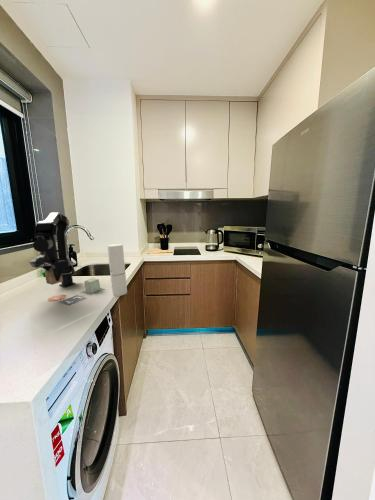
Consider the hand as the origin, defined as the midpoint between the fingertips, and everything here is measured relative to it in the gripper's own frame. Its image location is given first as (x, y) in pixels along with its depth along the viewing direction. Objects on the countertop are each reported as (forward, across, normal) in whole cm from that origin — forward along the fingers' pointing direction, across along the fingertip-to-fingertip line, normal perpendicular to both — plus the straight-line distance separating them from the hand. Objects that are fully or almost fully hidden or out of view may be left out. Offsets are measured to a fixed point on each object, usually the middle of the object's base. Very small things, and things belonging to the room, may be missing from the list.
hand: (54, 280), depth 98 cm
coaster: (+9, 0, 0) cm, 9 cm away
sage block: (+9, +8, +14) cm, 18 cm away
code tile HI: (+9, +8, +14) cm, 19 cm away
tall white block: (+10, +24, +18) cm, 32 cm away
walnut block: (+1, 0, 0) cm, 1 cm away
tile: (+9, +10, +2) cm, 14 cm away
